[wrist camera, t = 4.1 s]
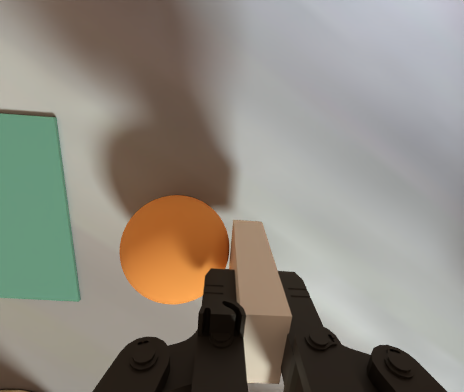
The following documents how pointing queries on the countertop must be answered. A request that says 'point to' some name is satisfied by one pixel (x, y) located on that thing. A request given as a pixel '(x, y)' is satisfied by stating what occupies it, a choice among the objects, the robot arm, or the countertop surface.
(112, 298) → the countertop surface
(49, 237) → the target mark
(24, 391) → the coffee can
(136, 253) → the ball
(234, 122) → the countertop surface
